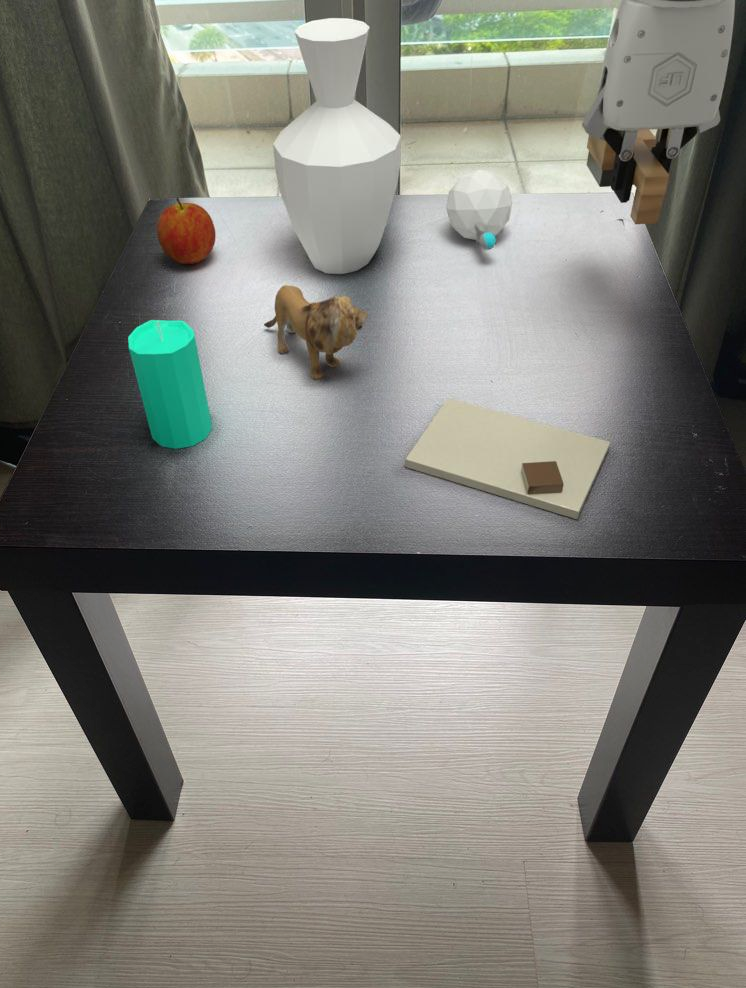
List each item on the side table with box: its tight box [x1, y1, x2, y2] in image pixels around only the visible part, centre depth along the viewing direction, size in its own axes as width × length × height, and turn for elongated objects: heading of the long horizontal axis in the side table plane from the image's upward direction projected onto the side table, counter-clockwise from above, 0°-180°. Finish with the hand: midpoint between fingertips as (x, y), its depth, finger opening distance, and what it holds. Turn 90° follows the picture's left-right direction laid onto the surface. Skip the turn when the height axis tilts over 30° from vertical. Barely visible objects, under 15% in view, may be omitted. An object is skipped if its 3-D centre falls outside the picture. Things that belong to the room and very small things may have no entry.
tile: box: [404, 397, 611, 520], centre depth 77 cm, size 16×10×1 cm, turn 63°
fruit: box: [156, 197, 216, 265], centre depth 102 cm, size 7×7×8 cm
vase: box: [272, 17, 402, 275], centre depth 95 cm, size 14×14×25 cm
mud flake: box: [521, 461, 564, 494], centre depth 73 cm, size 3×3×1 cm
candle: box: [127, 319, 213, 450], centre depth 78 cm, size 6×6×12 cm
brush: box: [586, 120, 670, 225], centre depth 84 cm, size 14×5×5 cm, turn 2°
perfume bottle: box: [445, 168, 513, 251], centre depth 103 cm, size 8×8×12 cm
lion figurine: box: [263, 284, 368, 380], centre depth 87 cm, size 15×5×9 cm, turn 44°
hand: (635, 194), depth 83 cm, fingers closed on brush
